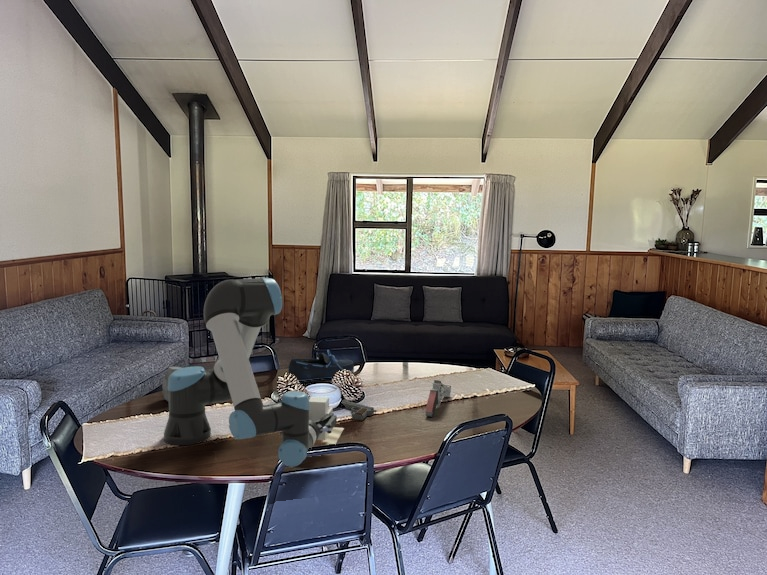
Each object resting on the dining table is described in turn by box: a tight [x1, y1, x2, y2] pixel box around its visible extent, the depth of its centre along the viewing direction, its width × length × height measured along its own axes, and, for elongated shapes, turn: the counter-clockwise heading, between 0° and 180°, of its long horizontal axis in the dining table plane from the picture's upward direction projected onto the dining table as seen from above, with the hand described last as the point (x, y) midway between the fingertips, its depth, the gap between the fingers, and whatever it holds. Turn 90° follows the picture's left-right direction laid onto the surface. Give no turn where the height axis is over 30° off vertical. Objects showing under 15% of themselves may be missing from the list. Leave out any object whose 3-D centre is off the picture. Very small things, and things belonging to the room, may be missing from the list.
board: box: [313, 426, 345, 446], centre depth 194 cm, size 20×12×5 cm, turn 173°
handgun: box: [341, 399, 378, 421], centre depth 224 cm, size 3×18×12 cm
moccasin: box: [287, 349, 355, 382], centre depth 275 cm, size 14×34×12 cm, turn 130°
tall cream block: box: [309, 396, 330, 440], centre depth 189 cm, size 6×6×13 cm
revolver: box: [424, 379, 452, 418], centre depth 233 cm, size 4×29×15 cm, turn 160°
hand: (322, 411), depth 194 cm, fingers closed on tall cream block, 6 cm apart
